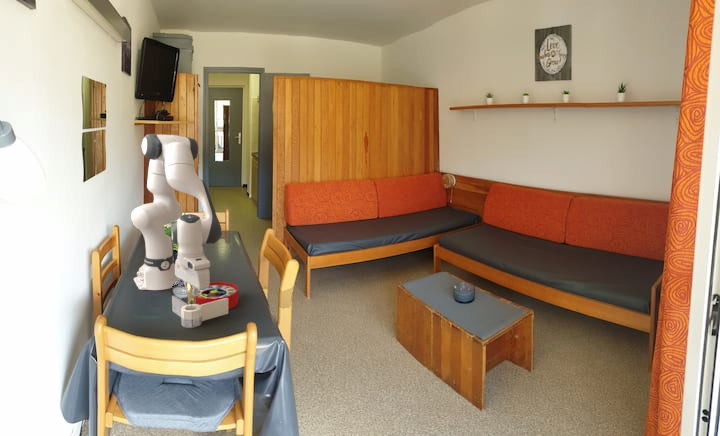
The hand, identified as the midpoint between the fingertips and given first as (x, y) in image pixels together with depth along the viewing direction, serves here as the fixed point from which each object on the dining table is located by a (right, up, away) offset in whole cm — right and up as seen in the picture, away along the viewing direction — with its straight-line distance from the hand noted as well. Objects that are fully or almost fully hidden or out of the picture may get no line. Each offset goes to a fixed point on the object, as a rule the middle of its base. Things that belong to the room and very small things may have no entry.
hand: (191, 294), depth 170 cm
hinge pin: (0, -3, +1) cm, 4 cm away
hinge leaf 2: (+3, -11, +7) cm, 13 cm away
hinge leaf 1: (-5, -11, +6) cm, 13 cm away
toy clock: (+1, -8, +23) cm, 25 cm away
